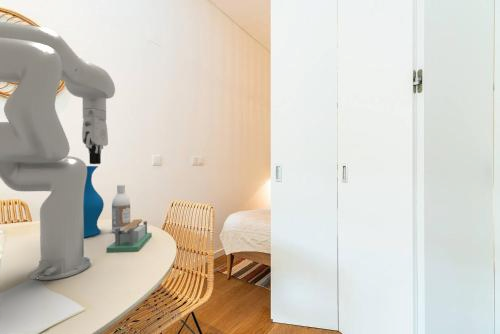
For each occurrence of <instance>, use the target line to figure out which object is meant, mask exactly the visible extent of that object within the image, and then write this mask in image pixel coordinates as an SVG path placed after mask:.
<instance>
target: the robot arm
mask: <svg viewBox="0 0 500 334" xmlns="http://www.w3.org/2000/svg"><path fill="white" fill-rule="evenodd" d="M61 81H62V82H64V84H65V89H66V90H67V91H68V93H70V94H71V95H73V96H74V97H77V98H81V99H82V119H83V120H82V127H81V128H82V132H81V133H82V134H81V135H82V136H81V137H82V139H81V140H82V143H83V144H84V145H85V148H86V149H88V154H89V164H90V165H100V164H101V163H102V162H101V155H102V150H103V149H104V147H106V146H108V144H109V139H108V138H109V137H108V134H109V133H108V126H107V100H108V99H111V98H113V97H114V96H115V92H116V86H115V83H114V81H113V79H112V77H111V76H110V73H108V72H107V70H105V69H104V68H102V67H100V66H98V65H96V64H94V63H92V62H90V61H88V60H86V59H83V58H82V57H81V58H80V57H79V56H78V55H77V54H76V52H75V51H74V50H73V49H72V48H71V46H70V45H69V44H68V43H67V42H66V41H65V40H64V39H63V37H62V36H60V35H59V34H58V33H57V32H55V31H54V30H52V29H50V28H47V27H42V26H39V25H31V24H30V25H27V24H23V23H21V24H20V23H15V22H14V23H13V22H6V21H5V22H4V21H0V83H3V82H4V83H14V84H17V83H18V84H17V86H16V88H15V89H14V90H13V91H12V92H11V94H10V95H9V96H8V98H7V99H6V101H5V103H4V107H3V112H4V116H5V118H6V120H7V121H5V122H4V121H0V179H1V181H2V182H3V183H4V184H5V186H7V188H10V189H11V190H13V191H15V192H50V194H49V195H48V196H47V198H45V200H44V201H43V202H42V204H41V206H40V209H39V218H40V219H39V226H40V227H39V229H40V230H39V231H40V232H39V233H40V235H39V236H40V260H39V261H38V266H37V267H36V268H35V269H33V270H32V271H30V272H29V273H28V277H29V279H30V280H35V278H38V279H39V280H38V279H37V280H38V281H51V280H52V281H53V280H58V279H59V280H60V279H65V278H67V277H68V278H69V277H71V276H74V275H77V274H80V273H81V272H84V271H85V270H87V269H88V268H89V267H90V266H91V264H92V263H91V259H90V258H89V257H85V237H84V212H83V201H84V188H85V182H86V177H87V167H86V166H87V165H86V163H85V161H83V159H80V158H78V157H76V156H69V154H70V151H71V150H70V149H71V148H70V143H69V140H68V138H67V135H66V132H65V131H64V127H63V126H62V124H61V121H60V119H59V115H58V113H57V110H56V98H57V94H58V90H59V88H60V83H61Z"/></svg>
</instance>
